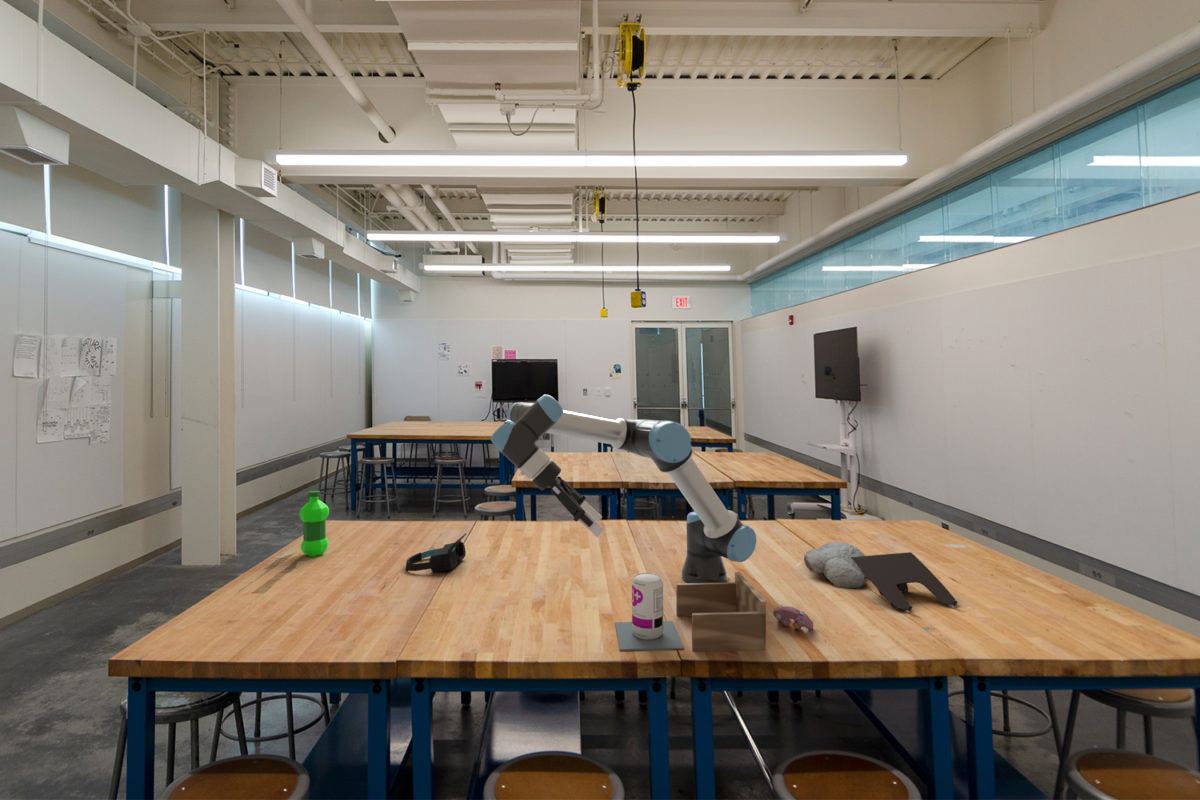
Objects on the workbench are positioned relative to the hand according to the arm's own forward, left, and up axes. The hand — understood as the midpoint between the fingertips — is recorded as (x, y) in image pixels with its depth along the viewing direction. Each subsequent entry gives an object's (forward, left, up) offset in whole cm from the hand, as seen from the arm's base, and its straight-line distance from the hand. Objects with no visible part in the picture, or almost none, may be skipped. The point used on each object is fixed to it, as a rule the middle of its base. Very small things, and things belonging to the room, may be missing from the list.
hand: (599, 526), depth 144 cm
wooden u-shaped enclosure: (-2, +32, -29) cm, 43 cm away
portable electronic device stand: (-22, +96, -29) cm, 102 cm away
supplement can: (0, +13, -29) cm, 31 cm away
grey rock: (-45, +85, -29) cm, 101 cm away
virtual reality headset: (-63, -58, -29) cm, 90 cm away
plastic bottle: (-79, -109, -29) cm, 138 cm away
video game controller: (-3, +53, -29) cm, 60 cm away
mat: (0, +13, -29) cm, 31 cm away
